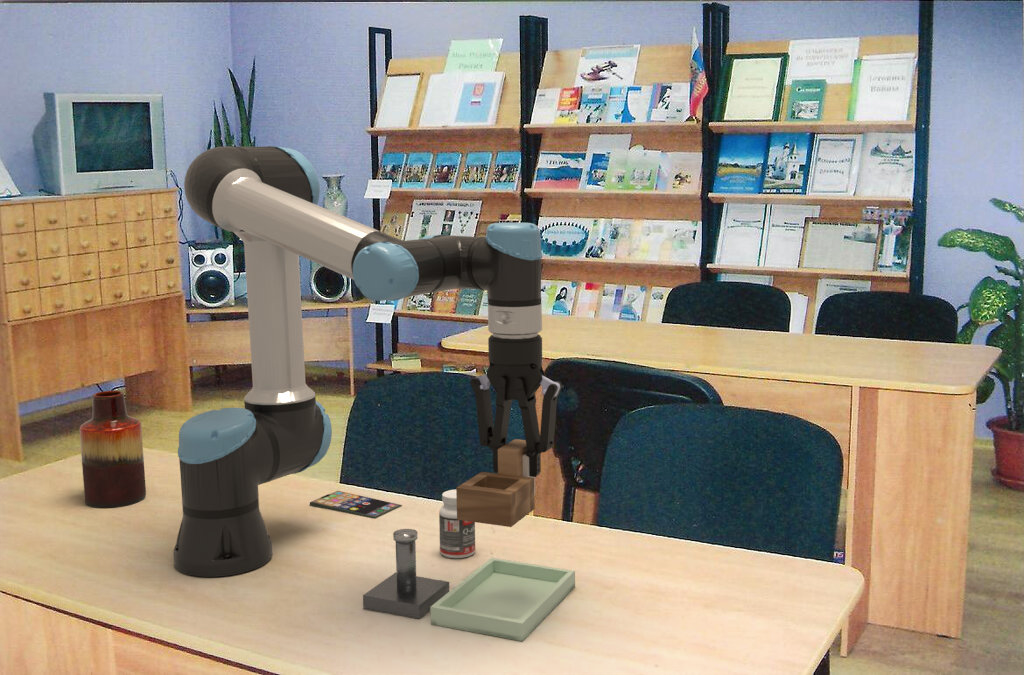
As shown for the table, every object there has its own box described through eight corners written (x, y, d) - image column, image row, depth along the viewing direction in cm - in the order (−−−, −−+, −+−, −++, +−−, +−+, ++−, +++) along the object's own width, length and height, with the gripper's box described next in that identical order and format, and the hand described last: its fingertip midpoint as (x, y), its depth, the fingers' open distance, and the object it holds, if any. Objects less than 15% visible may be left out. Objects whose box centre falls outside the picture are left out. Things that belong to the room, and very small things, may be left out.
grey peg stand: (363, 608, 150) (361, 538, 148) (395, 585, 158) (393, 519, 156) (419, 619, 146) (417, 547, 145) (449, 594, 155) (448, 527, 153)
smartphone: (375, 521, 188) (375, 514, 188) (309, 507, 195) (309, 501, 195) (402, 508, 195) (401, 502, 195) (337, 496, 202) (337, 489, 202)
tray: (430, 624, 145) (430, 606, 144) (491, 573, 162) (491, 557, 162) (522, 641, 139) (522, 623, 139) (575, 586, 157) (575, 570, 157)
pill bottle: (470, 560, 168) (469, 500, 166) (435, 558, 169) (434, 498, 167) (478, 547, 173) (478, 489, 172) (445, 545, 174) (444, 487, 173)
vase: (103, 489, 206) (96, 386, 203) (156, 491, 205) (149, 387, 201) (73, 507, 195) (65, 399, 192) (128, 509, 194) (121, 400, 191)
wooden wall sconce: (511, 527, 140) (510, 468, 139) (457, 519, 144) (455, 462, 142) (550, 496, 153) (550, 442, 152) (500, 490, 156) (499, 437, 155)
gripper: (451, 335, 148) (455, 497, 152) (558, 341, 142) (559, 510, 145) (474, 327, 155) (477, 482, 159) (578, 333, 148) (579, 495, 152)
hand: (517, 495), depth 152 cm, fingers closed on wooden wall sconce, 3 cm apart
